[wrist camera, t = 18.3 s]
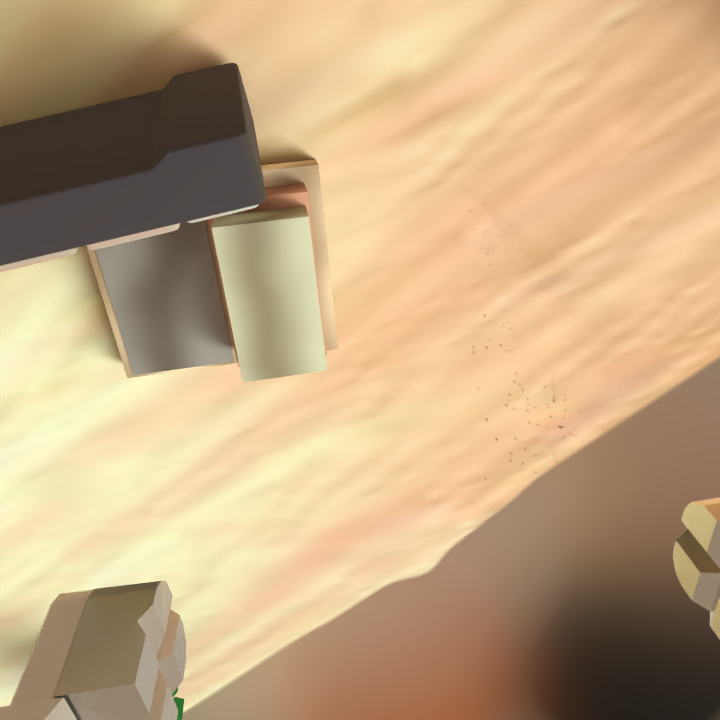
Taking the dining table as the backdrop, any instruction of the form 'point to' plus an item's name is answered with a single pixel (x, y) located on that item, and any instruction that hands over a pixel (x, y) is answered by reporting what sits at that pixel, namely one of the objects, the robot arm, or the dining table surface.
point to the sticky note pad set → (228, 287)
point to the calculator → (128, 168)
